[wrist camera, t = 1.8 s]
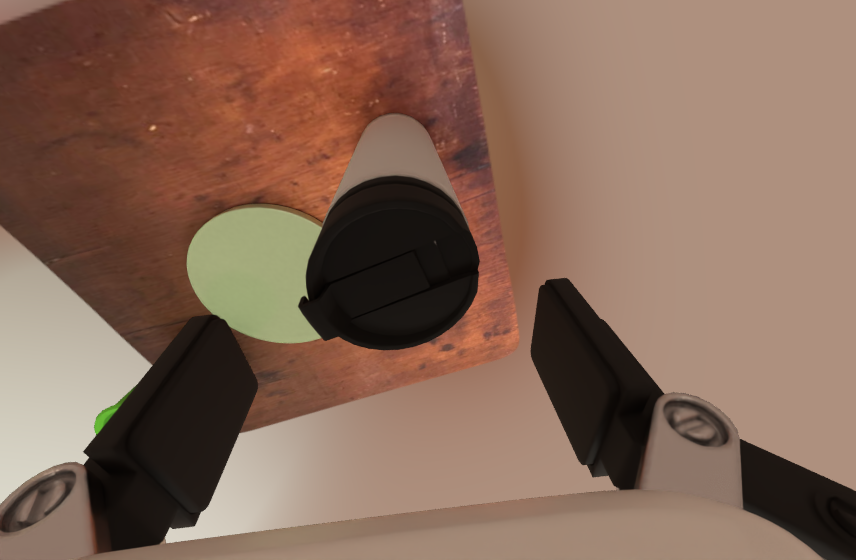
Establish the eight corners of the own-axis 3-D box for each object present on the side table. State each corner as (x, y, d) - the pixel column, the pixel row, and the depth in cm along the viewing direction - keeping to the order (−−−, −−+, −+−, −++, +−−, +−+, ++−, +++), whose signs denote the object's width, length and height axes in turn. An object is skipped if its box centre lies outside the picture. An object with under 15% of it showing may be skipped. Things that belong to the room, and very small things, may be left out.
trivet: (158, 212, 29) (151, 216, 28) (342, 195, 29) (340, 198, 29) (231, 344, 38) (227, 350, 37) (371, 329, 38) (371, 335, 37)
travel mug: (340, 132, 27) (249, 256, 10) (417, 99, 26) (457, 173, 9) (374, 202, 30) (349, 380, 13) (443, 174, 29) (507, 329, 13)
